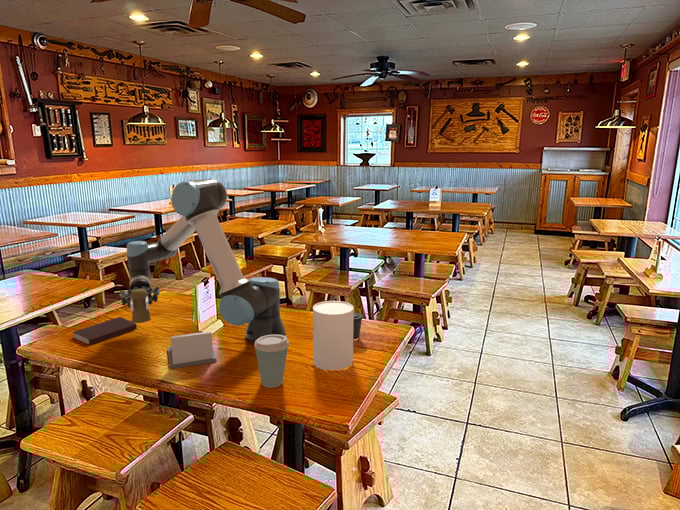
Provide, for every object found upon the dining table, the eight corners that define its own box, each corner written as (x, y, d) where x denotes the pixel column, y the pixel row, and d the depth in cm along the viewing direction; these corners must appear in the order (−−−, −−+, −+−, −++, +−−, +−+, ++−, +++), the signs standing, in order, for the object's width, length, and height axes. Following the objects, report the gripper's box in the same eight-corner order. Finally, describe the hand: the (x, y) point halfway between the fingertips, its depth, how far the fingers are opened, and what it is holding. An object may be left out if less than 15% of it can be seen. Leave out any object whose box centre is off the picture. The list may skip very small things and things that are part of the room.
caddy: (168, 349, 167) (165, 322, 165) (210, 343, 173) (209, 317, 171) (170, 368, 153) (167, 339, 151) (216, 361, 159) (214, 332, 156)
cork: (145, 315, 164) (142, 285, 162) (154, 319, 160) (151, 289, 158) (128, 320, 160) (125, 289, 157) (137, 324, 156) (134, 293, 153)
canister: (331, 376, 149) (331, 317, 144) (305, 362, 159) (304, 306, 154) (361, 363, 158) (362, 307, 153) (334, 350, 167) (334, 298, 163)
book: (137, 330, 187) (136, 322, 186) (89, 346, 171) (88, 338, 170) (120, 323, 194) (119, 316, 193) (72, 338, 178) (71, 331, 177)
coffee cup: (339, 341, 175) (339, 316, 173) (344, 333, 183) (344, 309, 181) (360, 343, 173) (360, 318, 171) (364, 335, 181) (364, 311, 179)
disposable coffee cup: (248, 385, 143) (246, 339, 140) (271, 371, 152) (270, 328, 148) (274, 395, 137) (272, 348, 134) (296, 380, 146) (296, 336, 142)
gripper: (165, 294, 179) (167, 313, 158) (116, 299, 172) (112, 320, 151) (163, 275, 177) (166, 292, 156) (114, 280, 171) (109, 298, 150)
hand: (139, 306), depth 154 cm, fingers closed on cork, 4 cm apart
